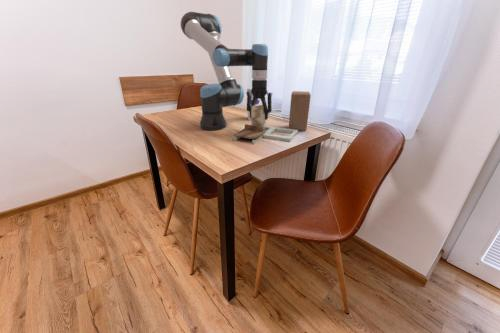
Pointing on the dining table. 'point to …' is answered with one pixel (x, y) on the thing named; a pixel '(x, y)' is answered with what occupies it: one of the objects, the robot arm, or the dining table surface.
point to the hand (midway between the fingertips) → (258, 124)
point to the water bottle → (251, 102)
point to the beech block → (257, 115)
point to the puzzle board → (270, 131)
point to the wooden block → (299, 110)
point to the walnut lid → (250, 132)
